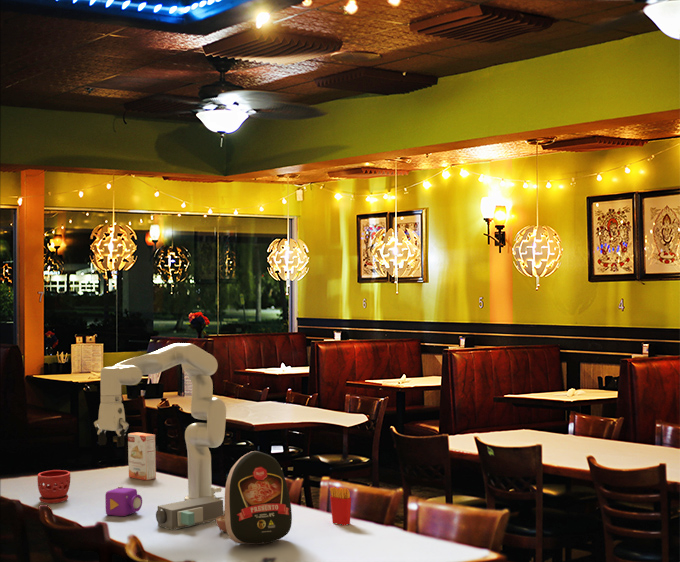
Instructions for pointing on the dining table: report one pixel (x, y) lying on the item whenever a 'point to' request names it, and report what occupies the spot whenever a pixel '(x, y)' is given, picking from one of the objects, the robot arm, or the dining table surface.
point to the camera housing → (168, 512)
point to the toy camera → (122, 501)
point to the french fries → (340, 505)
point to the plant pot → (53, 486)
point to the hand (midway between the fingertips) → (111, 445)
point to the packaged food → (257, 500)
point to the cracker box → (141, 456)
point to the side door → (190, 516)
